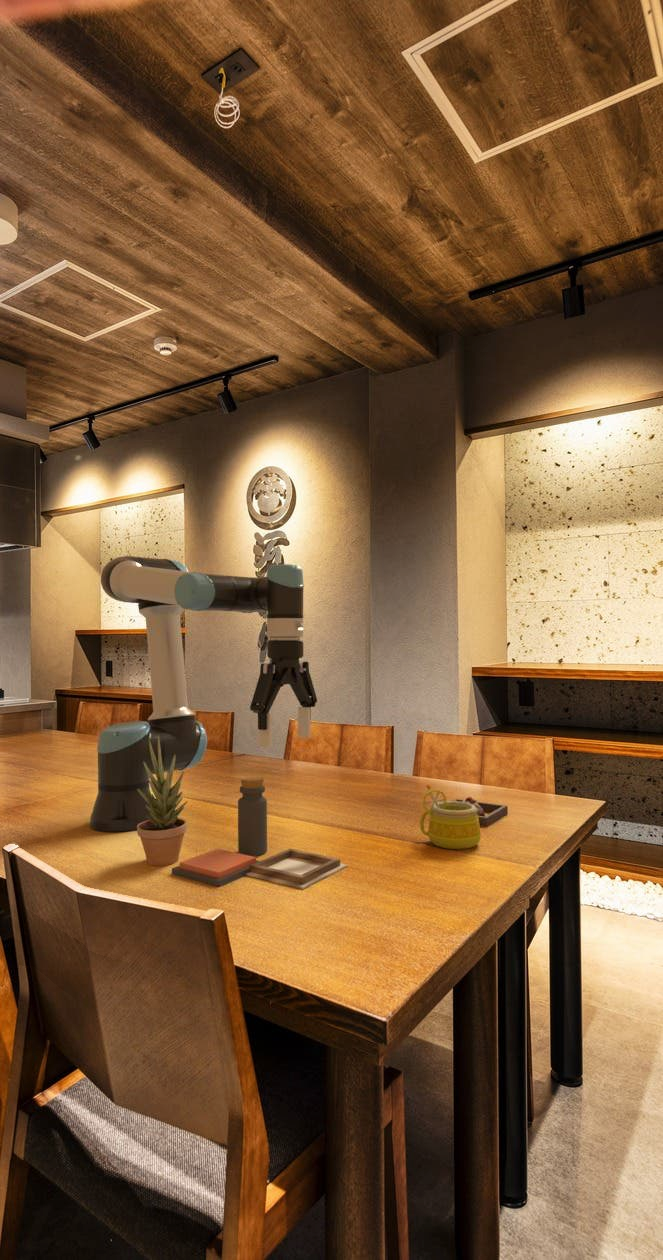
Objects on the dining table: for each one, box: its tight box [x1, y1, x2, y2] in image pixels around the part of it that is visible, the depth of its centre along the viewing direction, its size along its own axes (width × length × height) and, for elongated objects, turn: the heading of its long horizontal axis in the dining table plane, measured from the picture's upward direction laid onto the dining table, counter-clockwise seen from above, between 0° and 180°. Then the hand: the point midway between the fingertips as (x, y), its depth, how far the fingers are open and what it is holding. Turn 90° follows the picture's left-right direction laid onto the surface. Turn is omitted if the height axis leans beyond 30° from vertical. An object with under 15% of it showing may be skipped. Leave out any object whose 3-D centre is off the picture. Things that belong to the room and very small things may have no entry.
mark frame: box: [245, 848, 349, 890], centre depth 126 cm, size 14×14×2 cm
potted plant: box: [136, 735, 188, 867], centre depth 132 cm, size 10×10×25 cm
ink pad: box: [171, 848, 260, 888], centre depth 126 cm, size 12×12×2 cm
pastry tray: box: [451, 798, 509, 828], centre depth 164 cm, size 14×14×2 cm
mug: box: [419, 784, 481, 850], centre depth 142 cm, size 13×11×12 cm
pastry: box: [462, 796, 486, 817], centre depth 164 cm, size 8×8×5 cm
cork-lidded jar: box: [237, 775, 268, 857], centre depth 138 cm, size 6×6×15 cm
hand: (285, 741), depth 141 cm, fingers open, 13 cm apart
